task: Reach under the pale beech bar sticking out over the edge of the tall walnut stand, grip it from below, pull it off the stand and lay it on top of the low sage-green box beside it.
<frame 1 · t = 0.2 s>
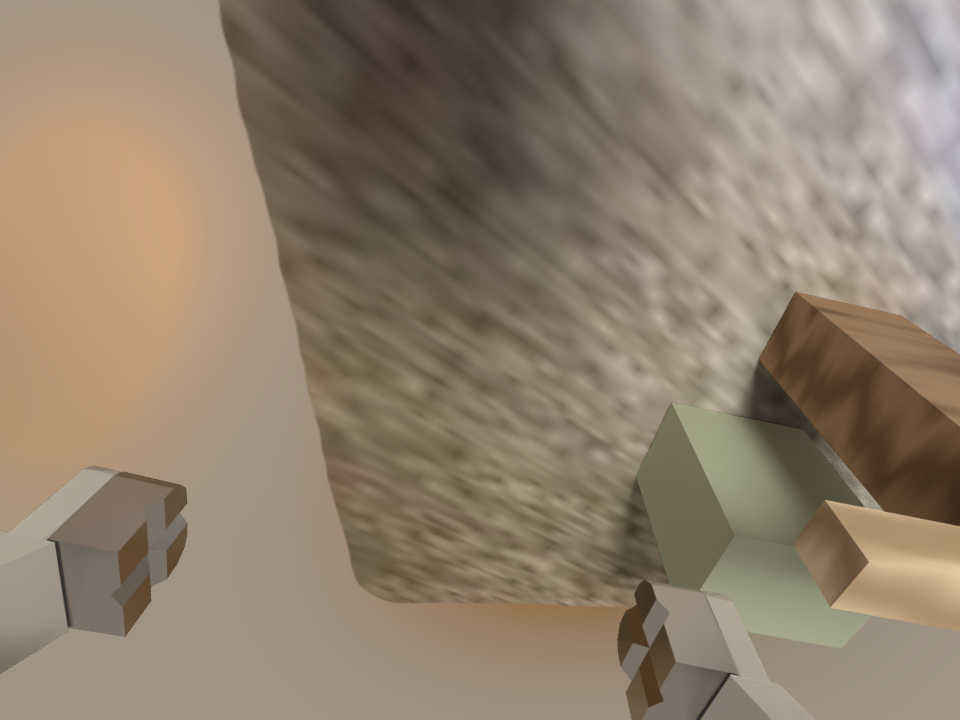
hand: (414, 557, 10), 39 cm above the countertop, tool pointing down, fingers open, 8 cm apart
walnut stand: (822, 337, 49), on the countertop
sage box: (716, 454, 56), on the countertop
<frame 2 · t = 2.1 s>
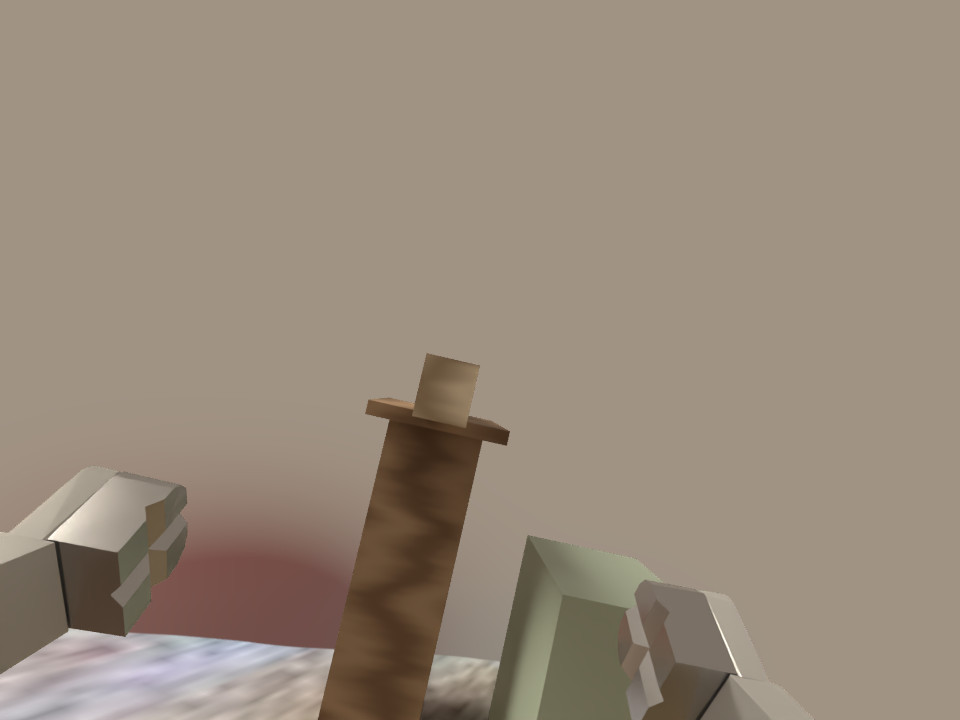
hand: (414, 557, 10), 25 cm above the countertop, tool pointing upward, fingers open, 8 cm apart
beech bar: (439, 414, 39), point 26 cm above the countertop, touching walnut stand
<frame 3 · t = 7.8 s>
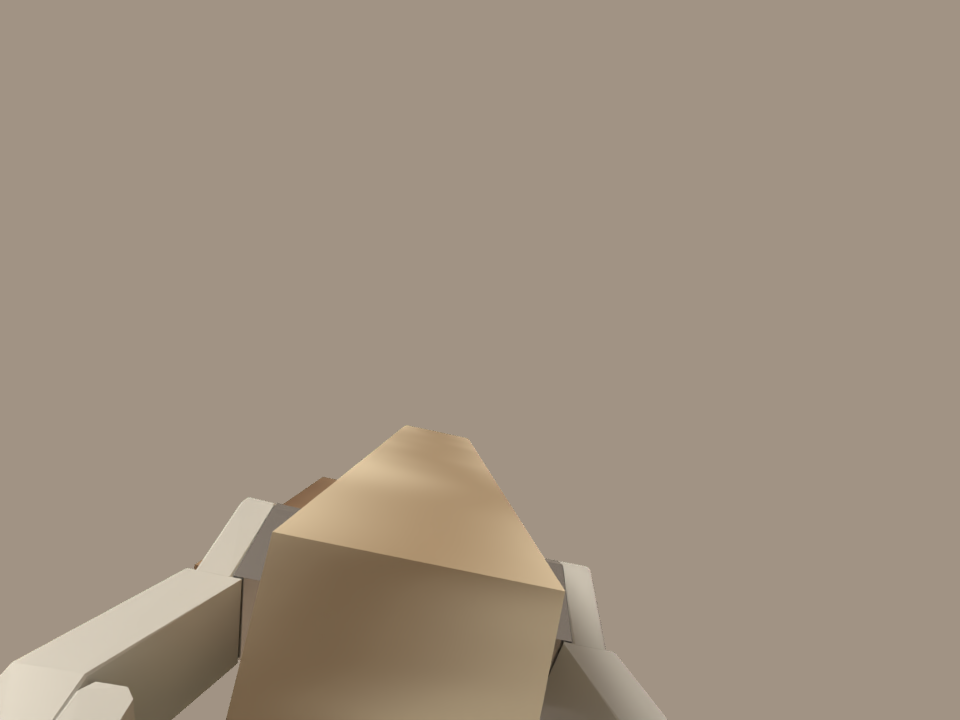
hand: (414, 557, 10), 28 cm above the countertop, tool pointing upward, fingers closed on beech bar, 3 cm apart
beech bar: (406, 577, 15), point 26 cm above the countertop, touching gripper, walnut stand
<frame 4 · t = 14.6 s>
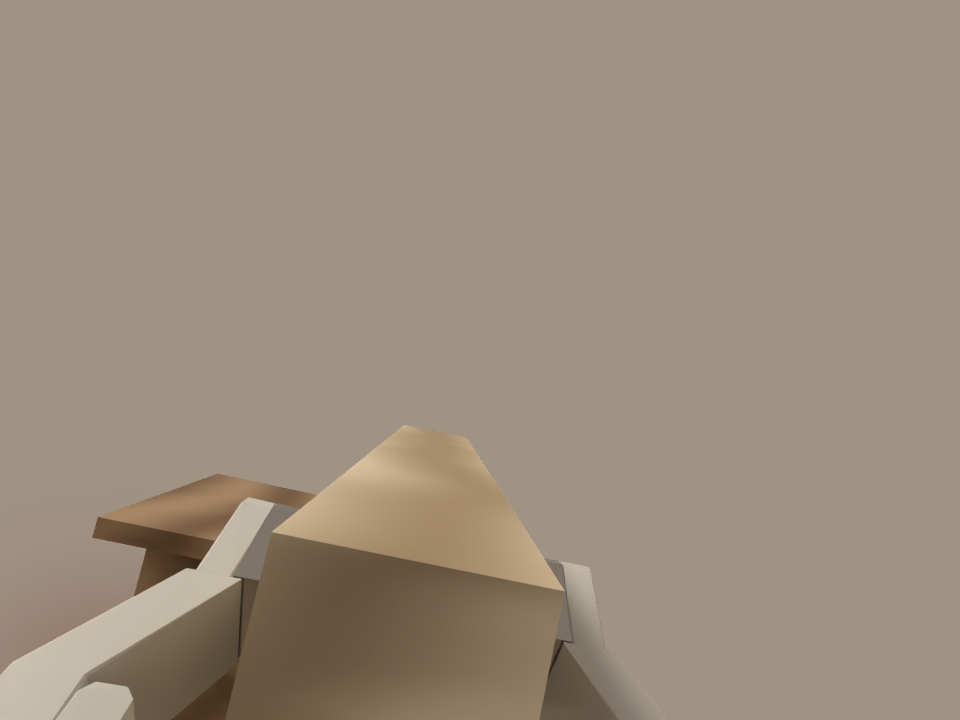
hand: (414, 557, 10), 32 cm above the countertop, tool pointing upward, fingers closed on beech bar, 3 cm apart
beech bar: (405, 577, 15), point 30 cm above the countertop, touching gripper
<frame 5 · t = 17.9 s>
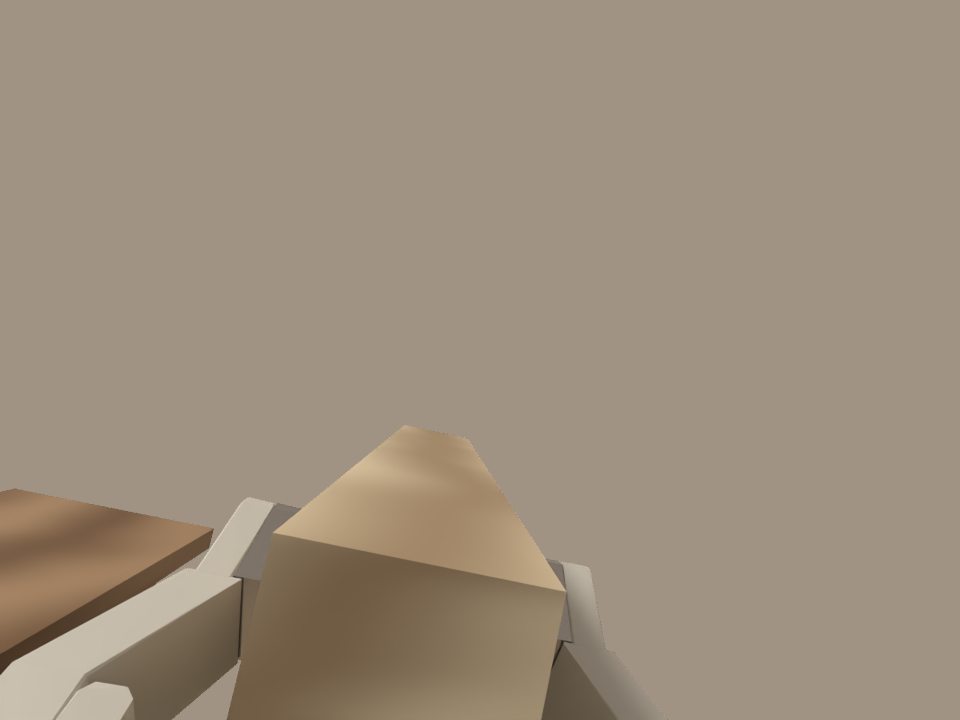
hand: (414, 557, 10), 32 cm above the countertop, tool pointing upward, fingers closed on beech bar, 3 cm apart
beech bar: (406, 577, 15), point 30 cm above the countertop, touching gripper
when the fingers open (20 cm above the countertop, at t = 21.3 s): beech bar drops 1 cm, resting on sage box.
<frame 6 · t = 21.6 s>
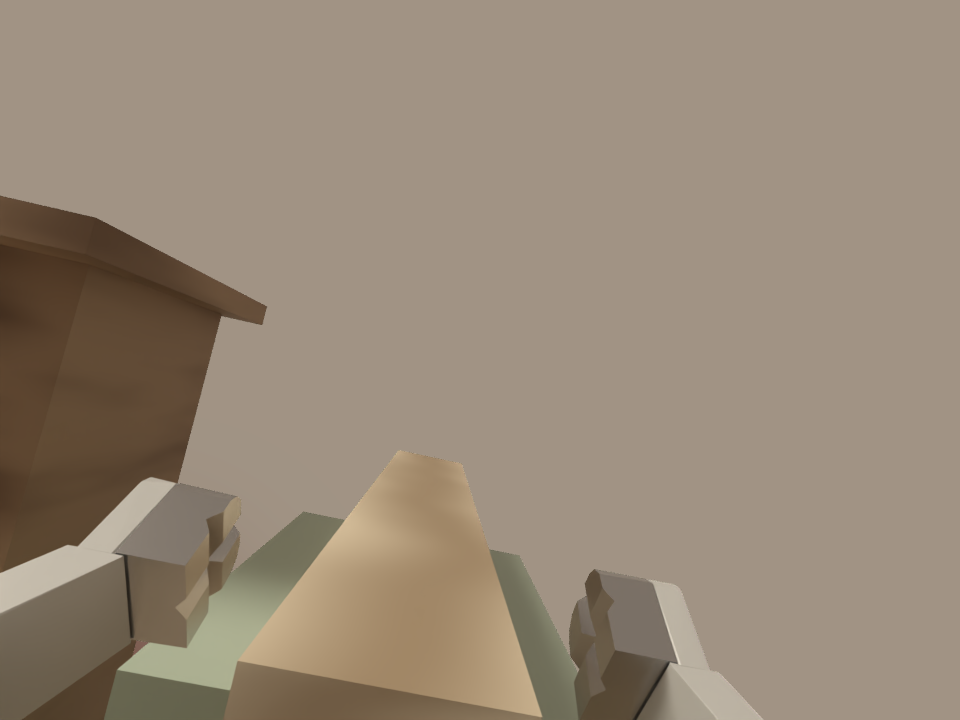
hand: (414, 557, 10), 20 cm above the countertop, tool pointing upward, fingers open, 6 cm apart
beech bar: (395, 622, 15), point 17 cm above the countertop, touching sage box
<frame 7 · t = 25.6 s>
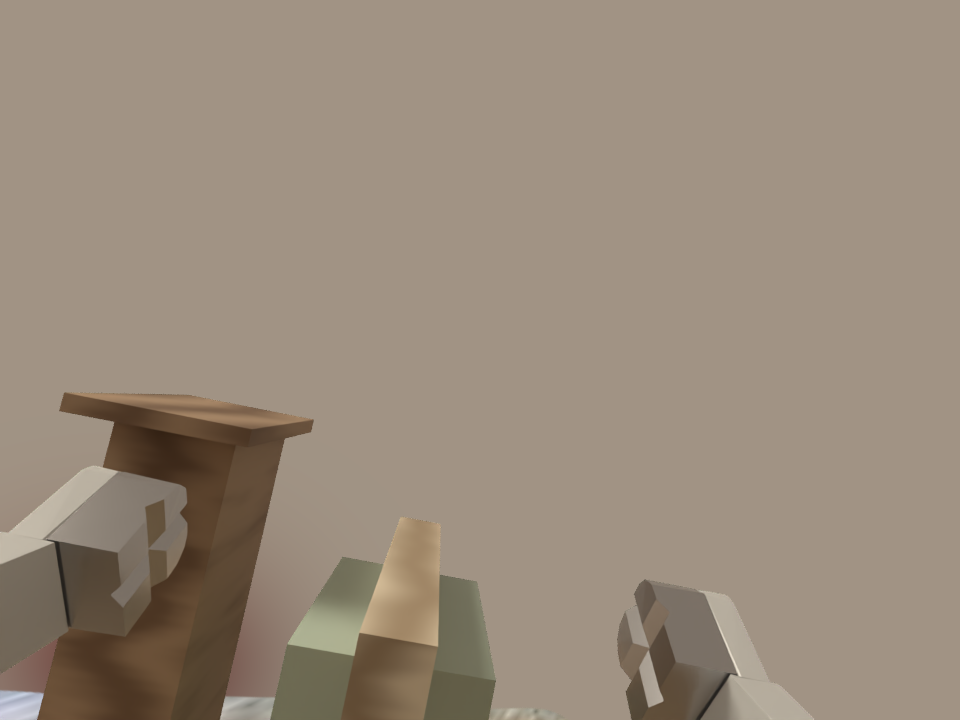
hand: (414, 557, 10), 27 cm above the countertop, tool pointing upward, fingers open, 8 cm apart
beech bar: (400, 623, 30), point 17 cm above the countertop, touching sage box
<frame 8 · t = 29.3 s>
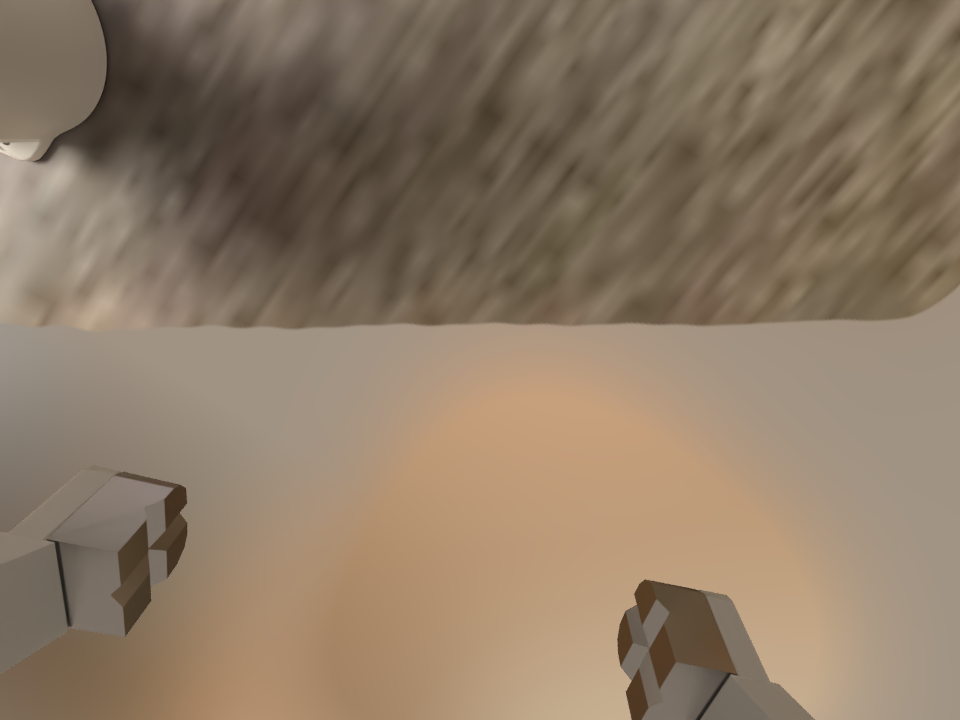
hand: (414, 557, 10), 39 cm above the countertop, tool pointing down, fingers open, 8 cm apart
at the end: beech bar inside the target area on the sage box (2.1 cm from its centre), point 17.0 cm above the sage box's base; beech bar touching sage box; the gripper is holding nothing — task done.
